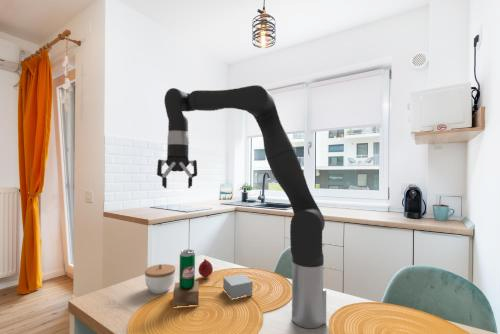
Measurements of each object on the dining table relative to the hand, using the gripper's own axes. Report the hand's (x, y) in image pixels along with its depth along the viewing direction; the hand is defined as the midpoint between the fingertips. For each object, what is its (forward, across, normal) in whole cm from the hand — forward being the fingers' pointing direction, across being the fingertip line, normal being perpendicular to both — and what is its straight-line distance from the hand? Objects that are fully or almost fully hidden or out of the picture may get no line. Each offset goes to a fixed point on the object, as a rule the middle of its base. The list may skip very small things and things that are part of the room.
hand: (177, 188), depth 97 cm
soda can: (+33, +4, -8) cm, 34 cm away
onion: (+38, +11, +11) cm, 41 cm away
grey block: (+38, +22, -5) cm, 44 cm away
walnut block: (+38, +4, -8) cm, 39 cm away
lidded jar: (+38, -6, +3) cm, 39 cm away
